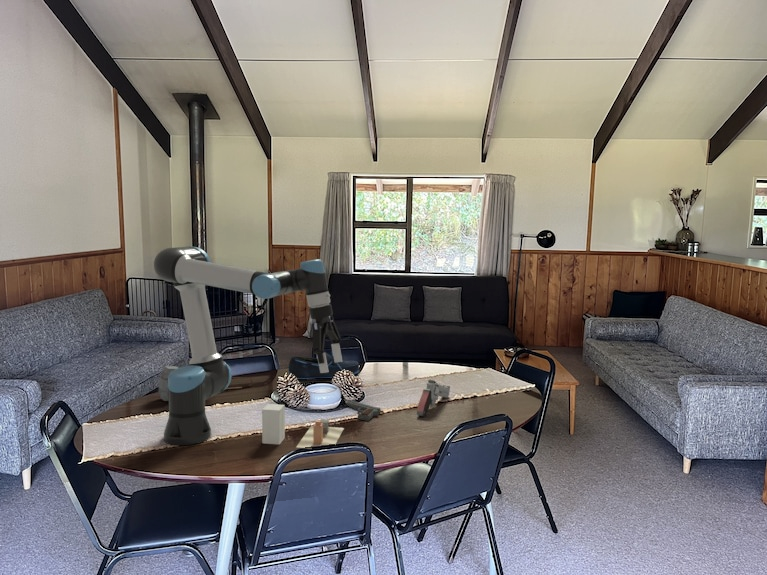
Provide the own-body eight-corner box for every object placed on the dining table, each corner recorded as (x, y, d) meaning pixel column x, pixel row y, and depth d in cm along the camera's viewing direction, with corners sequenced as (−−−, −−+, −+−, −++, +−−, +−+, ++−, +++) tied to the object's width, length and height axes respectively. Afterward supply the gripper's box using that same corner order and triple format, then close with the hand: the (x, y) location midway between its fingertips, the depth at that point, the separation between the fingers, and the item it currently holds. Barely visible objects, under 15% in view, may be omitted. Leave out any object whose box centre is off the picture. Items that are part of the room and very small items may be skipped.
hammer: (250, 366, 261) (160, 365, 236) (257, 369, 255) (165, 369, 230) (246, 395, 261) (156, 397, 237) (253, 399, 255) (161, 402, 231)
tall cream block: (279, 447, 187) (279, 410, 186) (262, 446, 188) (262, 409, 187) (284, 441, 193) (284, 404, 192) (268, 440, 194) (267, 403, 192)
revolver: (414, 414, 219) (421, 375, 223) (438, 420, 245) (443, 385, 249) (423, 416, 218) (429, 376, 221) (446, 422, 244) (451, 386, 247)
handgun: (331, 412, 226) (352, 405, 235) (367, 422, 214) (387, 414, 223) (331, 405, 225) (352, 398, 234) (367, 415, 214) (387, 408, 223)
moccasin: (364, 377, 277) (364, 353, 275) (294, 384, 262) (294, 359, 261) (353, 370, 289) (353, 347, 288) (286, 376, 275) (286, 352, 273)
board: (332, 453, 184) (332, 437, 183) (295, 450, 185) (295, 435, 185) (344, 431, 204) (344, 416, 203) (311, 429, 205) (311, 415, 204)
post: (321, 443, 188) (321, 422, 188) (313, 443, 189) (313, 422, 188) (322, 440, 191) (323, 419, 190) (315, 440, 191) (315, 419, 190)
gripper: (316, 310, 179) (329, 376, 181) (342, 298, 203) (353, 356, 205) (294, 313, 181) (307, 378, 183) (323, 301, 205) (334, 359, 207)
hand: (331, 367), depth 194 cm, fingers open, 13 cm apart
